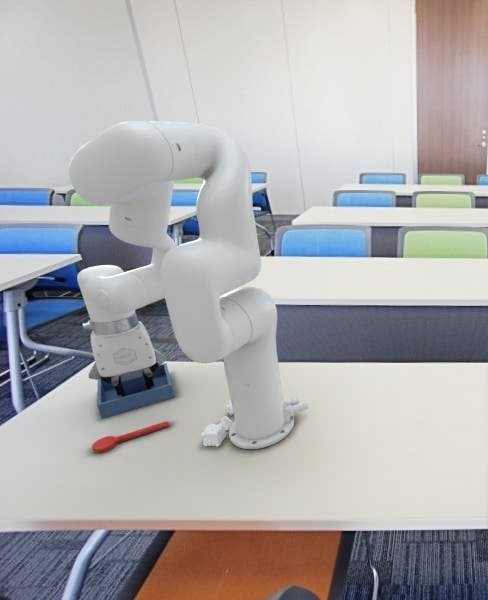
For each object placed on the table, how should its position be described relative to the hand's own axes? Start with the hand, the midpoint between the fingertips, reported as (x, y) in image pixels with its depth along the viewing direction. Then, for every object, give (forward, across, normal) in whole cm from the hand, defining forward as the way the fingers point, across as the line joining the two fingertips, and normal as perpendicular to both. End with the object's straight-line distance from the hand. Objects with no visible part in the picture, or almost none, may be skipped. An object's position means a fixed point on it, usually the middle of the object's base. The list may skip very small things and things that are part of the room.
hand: (137, 392), depth 93 cm
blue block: (0, 0, 0) cm, 0 cm away
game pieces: (+1, +14, -23) cm, 27 cm away
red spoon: (+1, -2, -16) cm, 16 cm away
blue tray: (+1, 0, 0) cm, 1 cm away
